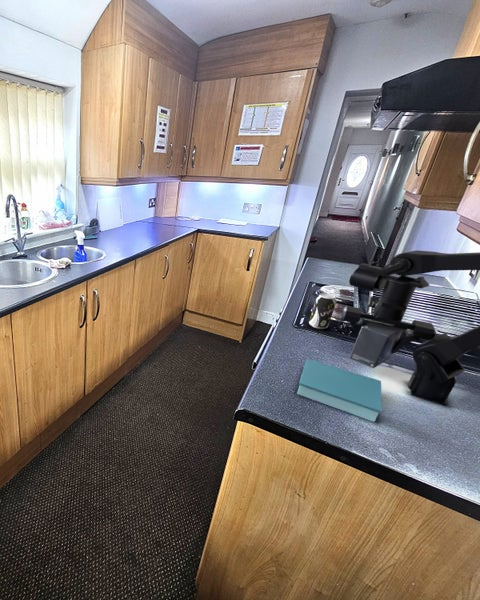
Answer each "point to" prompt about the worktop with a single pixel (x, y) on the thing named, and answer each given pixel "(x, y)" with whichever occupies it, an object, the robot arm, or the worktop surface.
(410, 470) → the worktop surface
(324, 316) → the beverage can
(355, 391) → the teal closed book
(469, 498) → the worktop surface
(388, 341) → the small box
